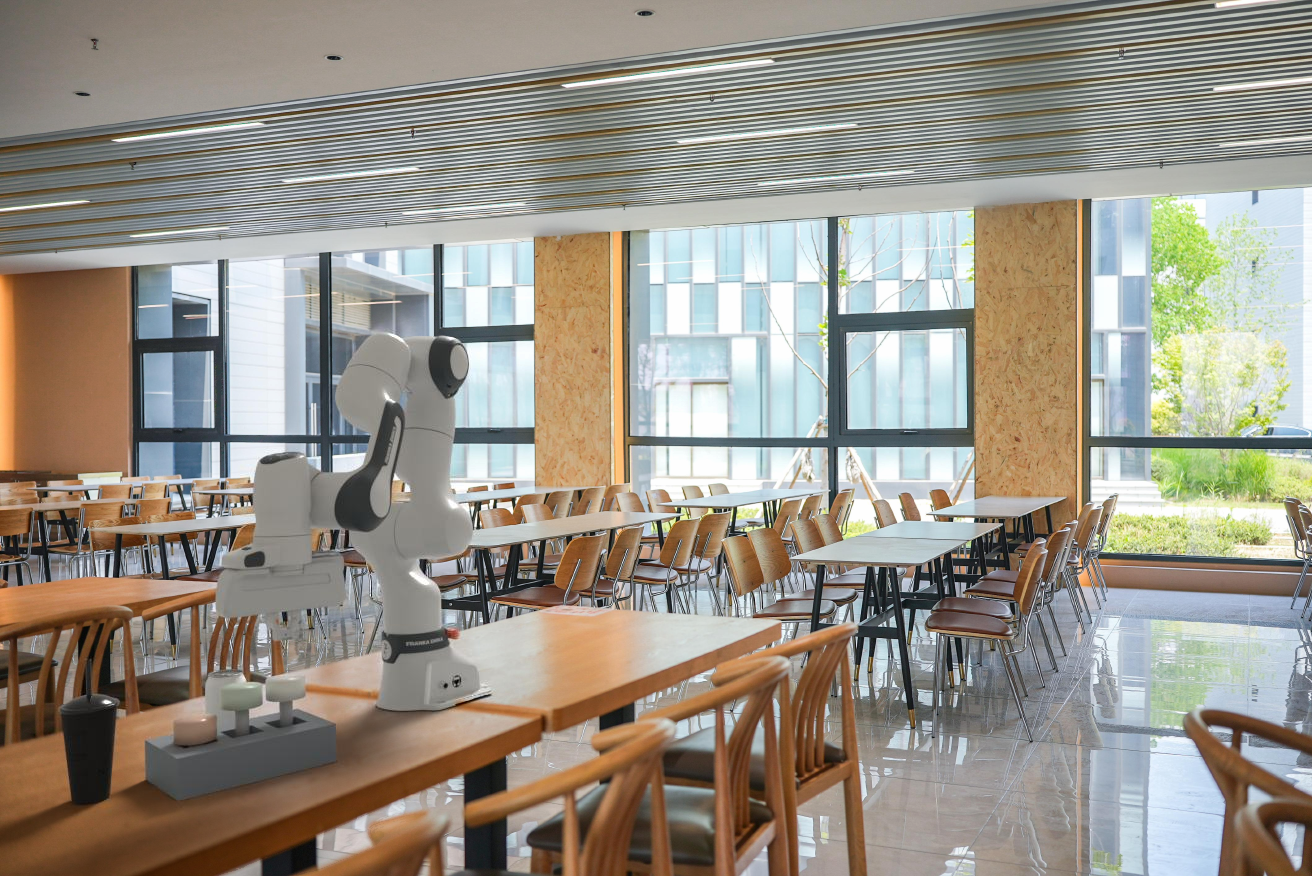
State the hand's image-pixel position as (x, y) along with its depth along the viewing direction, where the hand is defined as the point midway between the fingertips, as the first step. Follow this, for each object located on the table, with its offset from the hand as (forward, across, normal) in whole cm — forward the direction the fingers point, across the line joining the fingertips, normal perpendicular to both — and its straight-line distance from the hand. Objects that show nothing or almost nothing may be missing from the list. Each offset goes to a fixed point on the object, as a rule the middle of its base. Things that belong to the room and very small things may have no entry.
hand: (283, 639), depth 160 cm
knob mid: (+15, +6, 0) cm, 16 cm away
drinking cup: (+20, +27, -4) cm, 34 cm away
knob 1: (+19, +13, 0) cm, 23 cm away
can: (+19, +2, -17) cm, 26 cm away
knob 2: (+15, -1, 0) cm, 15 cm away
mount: (+19, +6, 0) cm, 20 cm away
